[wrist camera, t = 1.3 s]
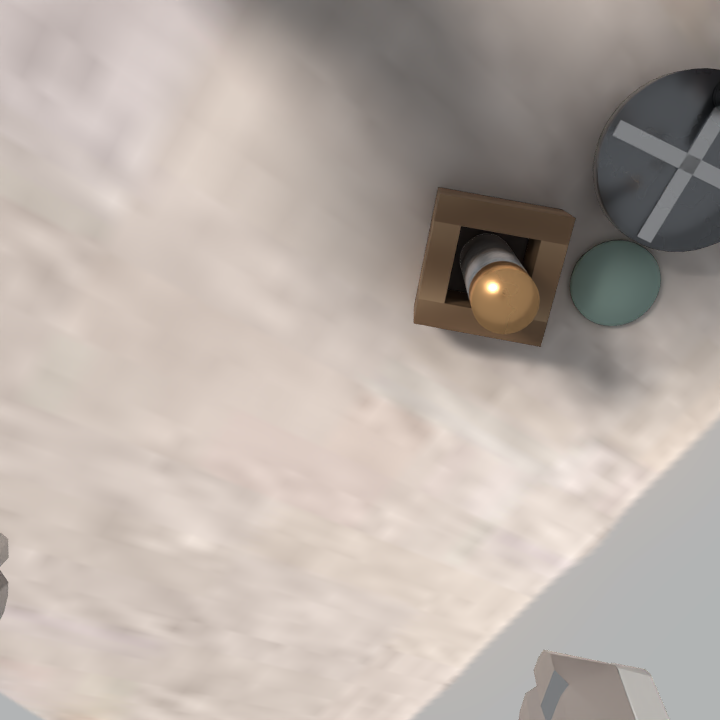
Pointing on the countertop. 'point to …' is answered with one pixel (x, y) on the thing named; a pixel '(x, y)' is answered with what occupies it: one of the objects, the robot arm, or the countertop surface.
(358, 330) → the countertop surface
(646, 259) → the coaster
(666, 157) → the handwheel
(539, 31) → the countertop surface
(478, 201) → the block
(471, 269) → the orange topped grey cylinder
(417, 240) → the countertop surface
